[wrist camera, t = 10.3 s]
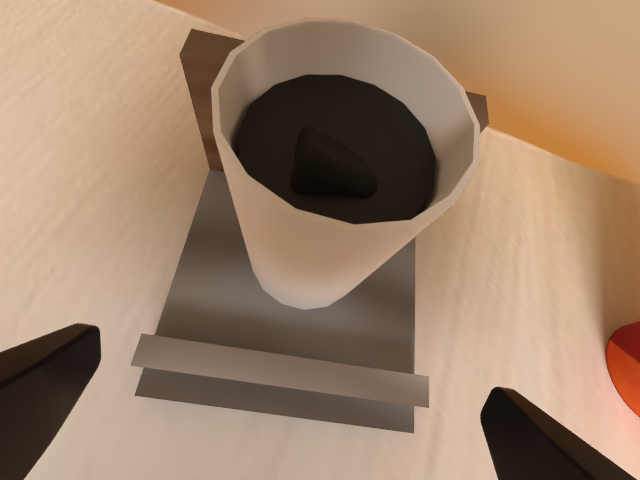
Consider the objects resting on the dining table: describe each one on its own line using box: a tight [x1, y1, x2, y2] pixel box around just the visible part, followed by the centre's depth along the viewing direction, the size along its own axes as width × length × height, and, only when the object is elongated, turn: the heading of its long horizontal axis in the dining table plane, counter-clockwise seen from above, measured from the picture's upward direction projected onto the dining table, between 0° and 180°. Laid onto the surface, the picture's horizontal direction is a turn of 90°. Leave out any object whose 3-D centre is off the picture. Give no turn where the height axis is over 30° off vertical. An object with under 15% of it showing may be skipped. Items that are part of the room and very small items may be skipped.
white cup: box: [211, 18, 480, 310], centre depth 12 cm, size 7×7×10 cm
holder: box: [131, 29, 489, 433], centre depth 14 cm, size 13×12×8 cm
